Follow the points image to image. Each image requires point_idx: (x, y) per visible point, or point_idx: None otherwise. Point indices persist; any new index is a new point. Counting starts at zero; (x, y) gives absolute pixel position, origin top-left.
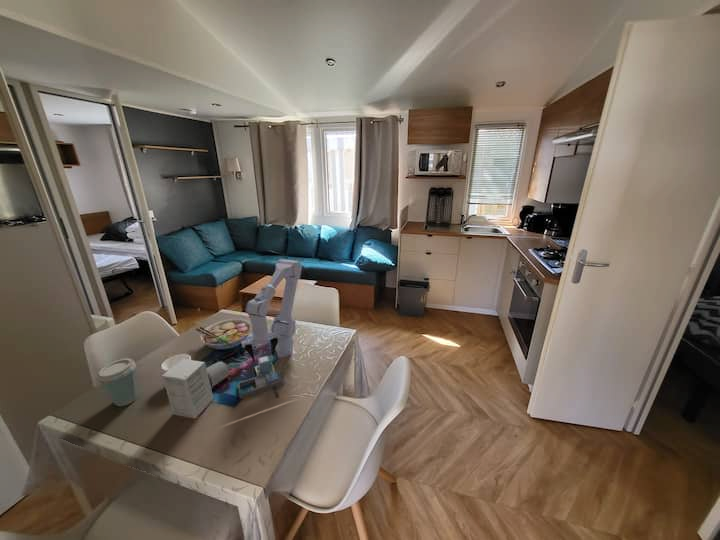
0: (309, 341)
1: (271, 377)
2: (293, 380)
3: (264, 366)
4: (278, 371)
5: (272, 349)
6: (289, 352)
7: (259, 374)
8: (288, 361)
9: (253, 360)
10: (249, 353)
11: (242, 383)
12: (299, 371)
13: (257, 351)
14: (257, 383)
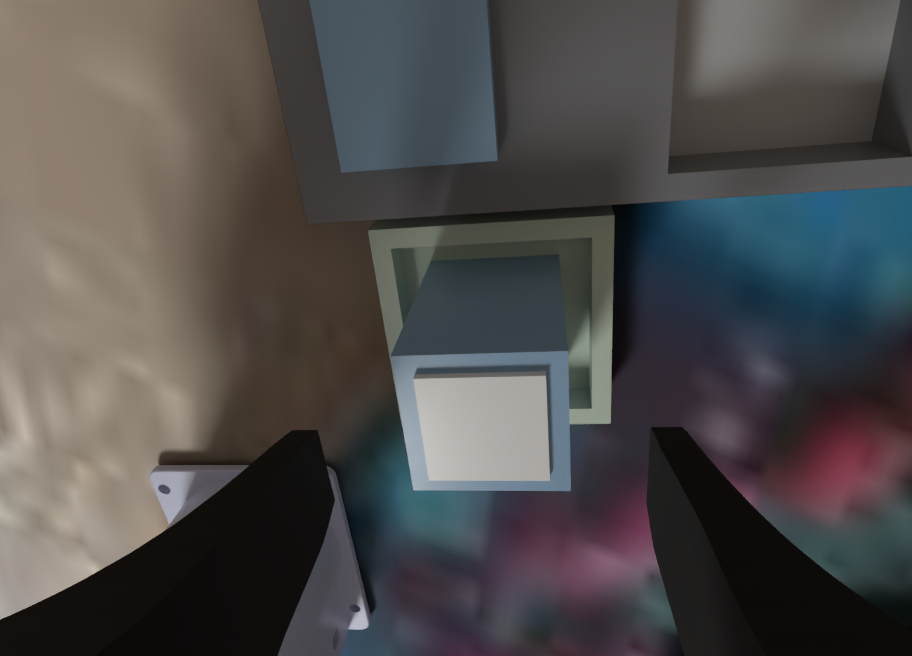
0: (39, 571)
1: (414, 60)
2: (148, 8)
3: (492, 315)
4: (313, 194)
5: (228, 527)
6: (204, 496)
7: (573, 291)
8: (230, 385)
9: (677, 432)
10: (849, 594)
11: (854, 154)
12: (87, 163)
13: (538, 634)
14: (648, 31)
